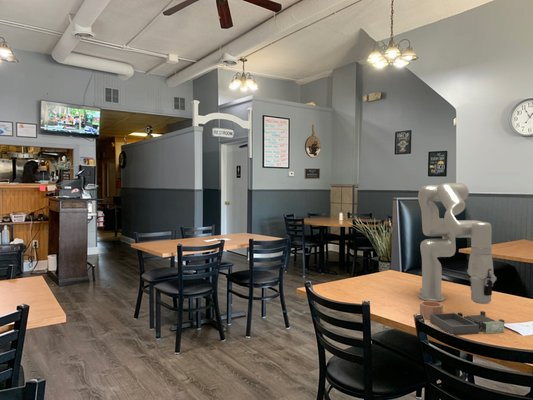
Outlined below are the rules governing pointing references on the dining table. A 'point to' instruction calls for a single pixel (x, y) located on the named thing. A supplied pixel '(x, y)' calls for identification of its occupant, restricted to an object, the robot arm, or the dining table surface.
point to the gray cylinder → (478, 291)
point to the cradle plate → (478, 319)
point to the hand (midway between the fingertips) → (481, 292)
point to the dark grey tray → (454, 323)
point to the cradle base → (490, 325)
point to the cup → (430, 308)
